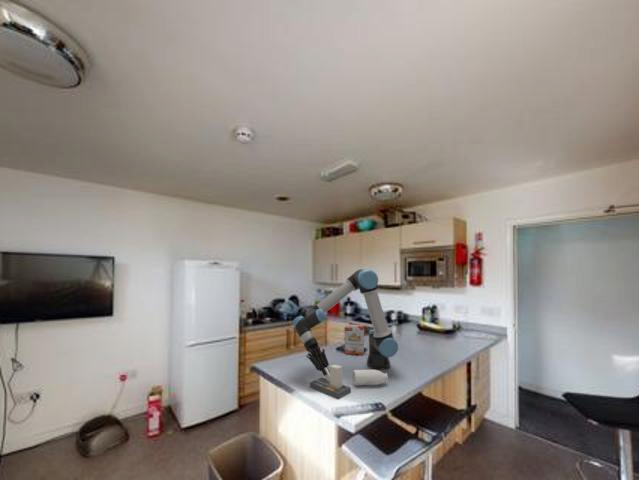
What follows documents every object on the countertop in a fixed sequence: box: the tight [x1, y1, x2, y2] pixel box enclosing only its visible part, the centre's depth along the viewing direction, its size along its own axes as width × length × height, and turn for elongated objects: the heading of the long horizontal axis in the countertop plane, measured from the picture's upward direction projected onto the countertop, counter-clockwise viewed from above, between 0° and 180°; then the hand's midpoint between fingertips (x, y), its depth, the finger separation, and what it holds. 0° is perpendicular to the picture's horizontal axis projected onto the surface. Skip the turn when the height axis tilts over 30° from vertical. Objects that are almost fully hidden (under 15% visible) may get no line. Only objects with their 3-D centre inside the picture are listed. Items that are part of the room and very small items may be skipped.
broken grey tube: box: [352, 369, 389, 387], centre depth 151 cm, size 8×19×8 cm, turn 92°
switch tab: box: [329, 364, 343, 389], centre depth 143 cm, size 5×4×10 cm
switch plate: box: [309, 376, 352, 400], centre depth 145 cm, size 20×10×4 cm, turn 46°
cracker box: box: [344, 323, 365, 356], centre depth 207 cm, size 14×6×21 cm, turn 81°
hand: (330, 380), depth 145 cm, fingers closed
